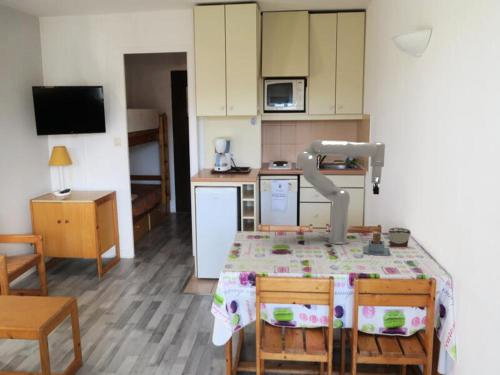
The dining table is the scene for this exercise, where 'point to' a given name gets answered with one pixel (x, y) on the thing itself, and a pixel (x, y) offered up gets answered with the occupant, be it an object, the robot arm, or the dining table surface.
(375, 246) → the cup bracket
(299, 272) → the dining table surface
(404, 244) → the food container
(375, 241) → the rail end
